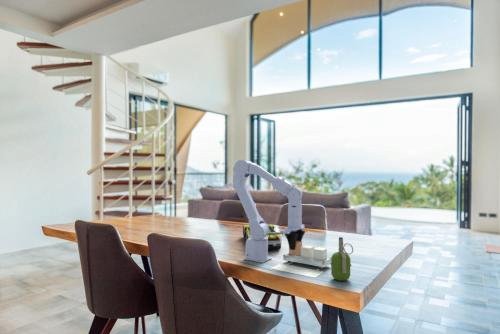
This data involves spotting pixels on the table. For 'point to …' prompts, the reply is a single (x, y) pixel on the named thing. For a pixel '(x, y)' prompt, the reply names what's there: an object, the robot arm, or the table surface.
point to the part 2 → (319, 254)
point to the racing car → (272, 235)
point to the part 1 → (307, 252)
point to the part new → (296, 248)
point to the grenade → (341, 263)
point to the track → (297, 270)
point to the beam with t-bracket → (306, 260)
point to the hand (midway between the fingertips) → (294, 248)
